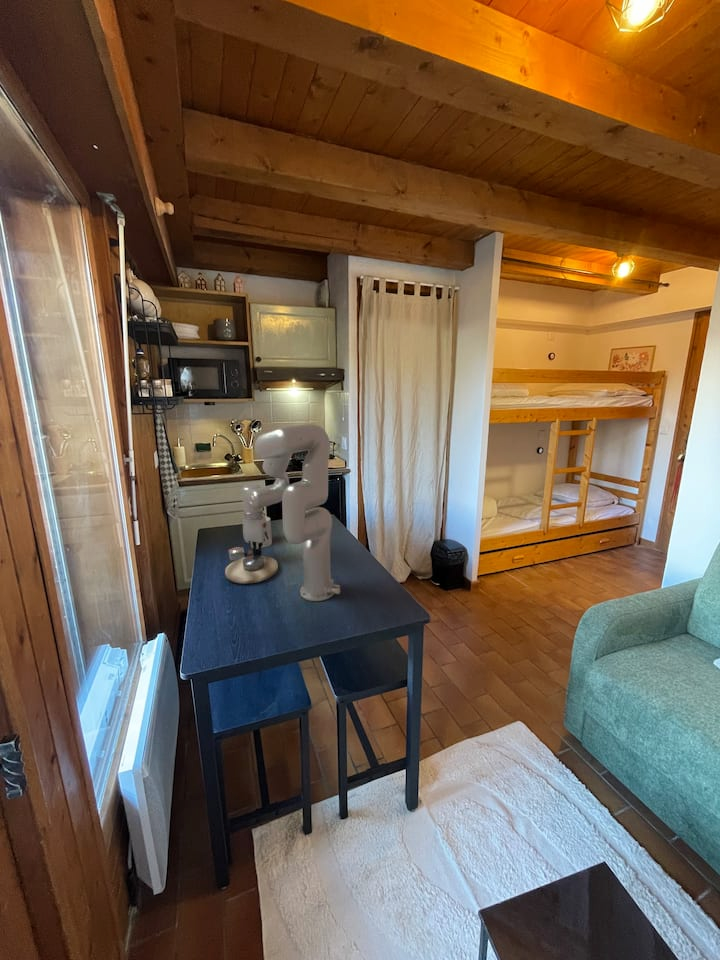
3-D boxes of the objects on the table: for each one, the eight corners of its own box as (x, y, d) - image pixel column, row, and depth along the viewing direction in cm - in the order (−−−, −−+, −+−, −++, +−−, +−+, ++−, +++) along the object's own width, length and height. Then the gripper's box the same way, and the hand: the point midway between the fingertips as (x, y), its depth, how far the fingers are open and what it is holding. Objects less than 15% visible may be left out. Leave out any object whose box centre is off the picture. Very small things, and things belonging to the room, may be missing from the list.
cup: (250, 545, 176) (248, 520, 173) (262, 538, 183) (260, 515, 180) (263, 548, 172) (261, 523, 169) (275, 542, 179) (273, 518, 176)
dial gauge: (243, 553, 167) (242, 545, 166) (244, 558, 163) (244, 550, 162) (229, 555, 165) (228, 547, 164) (230, 560, 161) (229, 552, 160)
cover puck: (263, 560, 155) (262, 554, 154) (265, 569, 148) (264, 562, 147) (242, 563, 153) (242, 557, 152) (243, 573, 145) (243, 565, 144)
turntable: (274, 556, 163) (273, 546, 161) (281, 578, 144) (280, 567, 143) (225, 563, 156) (224, 553, 155) (225, 587, 138) (224, 576, 137)
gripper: (274, 513, 154) (278, 555, 158) (244, 509, 159) (248, 550, 164) (263, 519, 147) (267, 563, 151) (232, 515, 152) (237, 557, 157)
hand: (257, 556), depth 157 cm, fingers closed
